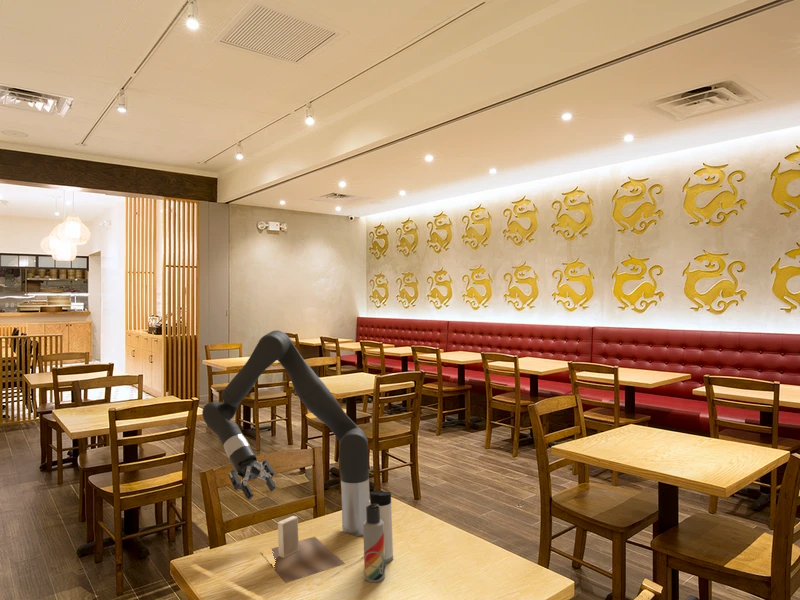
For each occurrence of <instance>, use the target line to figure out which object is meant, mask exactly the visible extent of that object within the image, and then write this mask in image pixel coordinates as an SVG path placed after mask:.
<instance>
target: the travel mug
mask: <svg viewBox="0 0 800 600" xmlns="http://www.w3.org/2000/svg"><path fill="white" fill-rule="evenodd" d="M369 499H370V504H375V503H376V504H379V505H380V520H382V521H383V522H384V548H385V564H387V563H390V562H392V561H393V559H394V546H393V512H392V511H393V510H392V508H393V506H392V505H393V504H392V492H390V491H384V490H372V491H369Z"/></svg>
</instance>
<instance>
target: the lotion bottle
mask: <svg viewBox="0 0 800 600" xmlns="http://www.w3.org/2000/svg"><path fill="white" fill-rule="evenodd" d="M362 537H363V566H364V570H363V571H364V579H365V581H367V582H369V583H379V582H382V581H383V580H384V579H385V577H386V563H385V548H384V522H383V521H382V520H380V505H379V504H376V503H375V504H370V505H368V506H366V521H364V523H363V535H362Z"/></svg>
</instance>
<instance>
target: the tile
mask: <svg viewBox="0 0 800 600" xmlns="http://www.w3.org/2000/svg"><path fill="white" fill-rule="evenodd" d="M277 536H278V537H277V539H278V540H277V541H278V542H277V543H278V547H279V556H280V557H283V558H284V557H286V556H288V555H290V554H292V553H294V552H296V551H298V550H299V543H298V541H299V518H298V516H296V515H292V516H290V517H287V518H285V519H283V520H280V521H278V522H277Z"/></svg>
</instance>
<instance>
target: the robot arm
mask: <svg viewBox="0 0 800 600" xmlns="http://www.w3.org/2000/svg"><path fill="white" fill-rule="evenodd" d="M276 361H278V363H280V365H281V366H282V367H283V368H284V369H285V371H286V372H287V374H288V377H289V379H290V381H291V383H292V386H293V387H292V388H293V389H294V391H295V394H296V396H297V397H298V398H299V400H300V401H301V403H302V404H303V405H304V406H305V407H306V409H307V410H308V411H309V412H310V413H311V414H312V415H314V416H315V417H316V418H317V419H318V420H320V421H321V422H322V423H324V424H325V425H326V426H327V427H328V428H329V429H330V431H331V432H332V433H333V435H334V436H335V437H336V439H337V441H338V443H339V467H340V468H339V469H340V470H339V471H340V472H339V473H340V485H341V517H342V520H341V521H342V523H341V524H342V525H341V526H342V533H345V534H348V535H351V536H354V537H360V536H363V523H364V521H366V506H368V505H370V471H369V469H370V467H369V439H368V437H367V435H366V433H365V432H364V431H363V429H362V428H360V427H359V425H357V424H356V423H355V422H354V421H353V419H351V418H350V417H349V416H348V414H347V413H346V412H345V411H344V409H343V408H342V406H341V405H340V403H339V402H338V400H337V398H336V397H335V396H334V395H333V394H332V392H331V390H330V389H329V388H328V387H327V386H326V384H325V383H324V382H323V381H322V379H321V378H320V377H319V376H318V375H317V374H316V373H315V370H313V369H312V367H311V366H310V365H309V363H307V362H306V360H305V359H304V358H303V356H302V354H301V353H300V352H299V350H298V349H297V347H296V346H295V344H294V343H293V341H292V340H291V338H290V337H289V336H288V335H287V334H286V332H283V331H281V330H273V331H269V332H267V333H266V334H264V335H263V336H262V337H261V338H260V339H259V341H257V344H256V346H255V347H254V349H253V351H252V353H251V355H250V356H249V358H248V359H247V361H246V362H245V363H244V365H243V366H242V367H241V368H240V370H239V371H238V372H237V373H236V375H235V376H234V377H233V378H232V379H231V381H230V382H229V383H227V385H226V387H225V388H223V390H222V392H221V394H220V395H221V400H223V401H212V402H208V403H206V404H205V405H204V406H203V408H202V410H201V412H202V418H203V421H204V423H205V425H207V426H208V427H209V429H210V430H211V431H212V432H213V433H214V434H215V435H216V436H217V437H218V439H219V441H220V442H221V445H222V447H223V448H224V452H225V453H226V455H227V457H228V460H229V461H230V463H231V465H232V467H233V468H232V469H231V470H230V472H229V473H228V478H229V480H230V482H231V484H232V486H233V489H234V490H235V491H237V490H241V491H242V492H243V494H244V497H245V498H246V499H248V500H251V499H252V498H253V497H254V493H253V492H252V490H251V488H250V486H249V485H248V482H249V481H251V480H253V479H254V480H255V479H259V480H263V481H264V482H265V484H266V486H267V487H268V489H269V491H270V492H273V491H275V489H276V483H275V481H274V480H273V479H272V478H273V477H274V475H276V472H275V470H274V469H273V467H272V466H271V464H270V463H269V461H268V460H267V459H264V460H263V461H261V462H259V461H258V459H257V456H256V454H255V452H254V449H253V448H252V446H251V445H250V443H249V440H248V439H247V438H246V437H245V435H244V433H243V432H242V430H241V429H240V427H239V425H238V424H237V423H236V422H234V421H231V420H232V419H233V418H234V417H235V415H236V413H237V410H238V409H239V407H240V404H241V402H242V401H243V400H244V399H245V398H246V396H248V394H249V393H250V392H251V390H252V389H253V387H254V385H256V382H257V380H258V379H259V378H260V376H261V375H262V374H263V373H264V372H265V371H266V370H267V369H268V368H270V366H271V365H273V364H275V362H276ZM239 476H240V477H241V480H240V478H239Z"/></svg>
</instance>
